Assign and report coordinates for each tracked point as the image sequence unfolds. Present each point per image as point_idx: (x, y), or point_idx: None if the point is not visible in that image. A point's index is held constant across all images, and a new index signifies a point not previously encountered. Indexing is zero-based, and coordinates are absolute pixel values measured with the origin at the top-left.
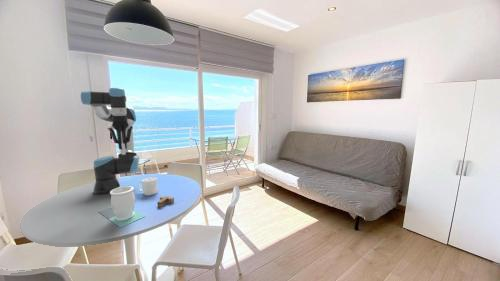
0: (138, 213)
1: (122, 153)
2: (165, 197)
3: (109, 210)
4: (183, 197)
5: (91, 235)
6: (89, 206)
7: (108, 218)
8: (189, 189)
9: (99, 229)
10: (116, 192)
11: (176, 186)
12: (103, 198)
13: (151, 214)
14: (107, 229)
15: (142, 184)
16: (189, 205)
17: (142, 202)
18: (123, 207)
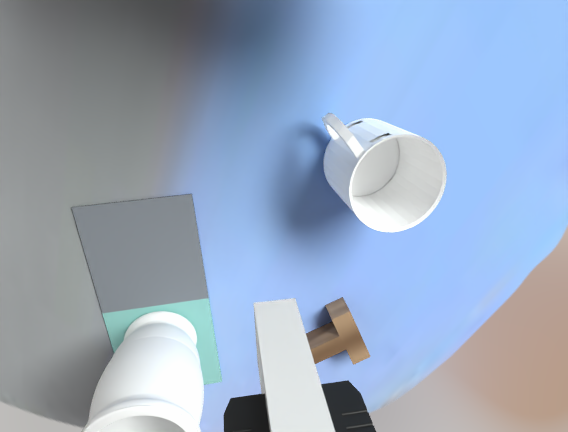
0: (212, 345)
1: (258, 361)
2: (347, 336)
3: (120, 233)
4: (413, 330)
5: (32, 385)
6: (32, 81)
7: (102, 309)
8: (493, 273)
9: (61, 364)
10: (122, 393)
11: (494, 186)
12: (123, 6)
13: (246, 378)
14: (86, 380)
15: (344, 162)
16: (375, 401)
17: (270, 253)
18: (140, 422)
